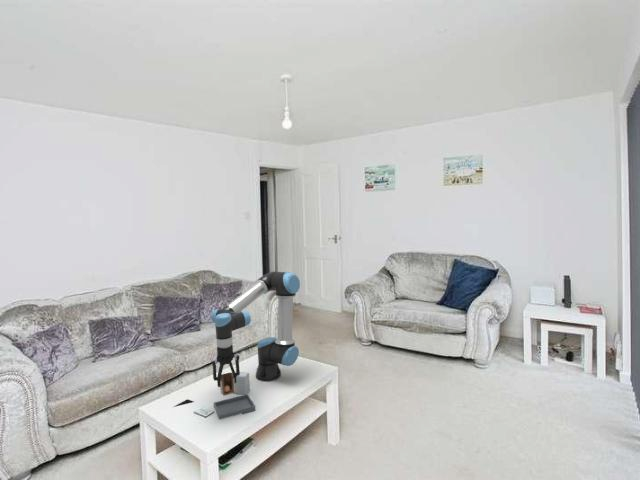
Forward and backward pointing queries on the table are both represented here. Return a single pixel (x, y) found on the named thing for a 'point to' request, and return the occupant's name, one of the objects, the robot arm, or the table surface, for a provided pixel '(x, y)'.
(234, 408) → the tray
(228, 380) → the brown wooden bin
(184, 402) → the smartphone
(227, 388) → the ball
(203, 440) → the table surface
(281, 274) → the robot arm
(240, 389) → the small box
